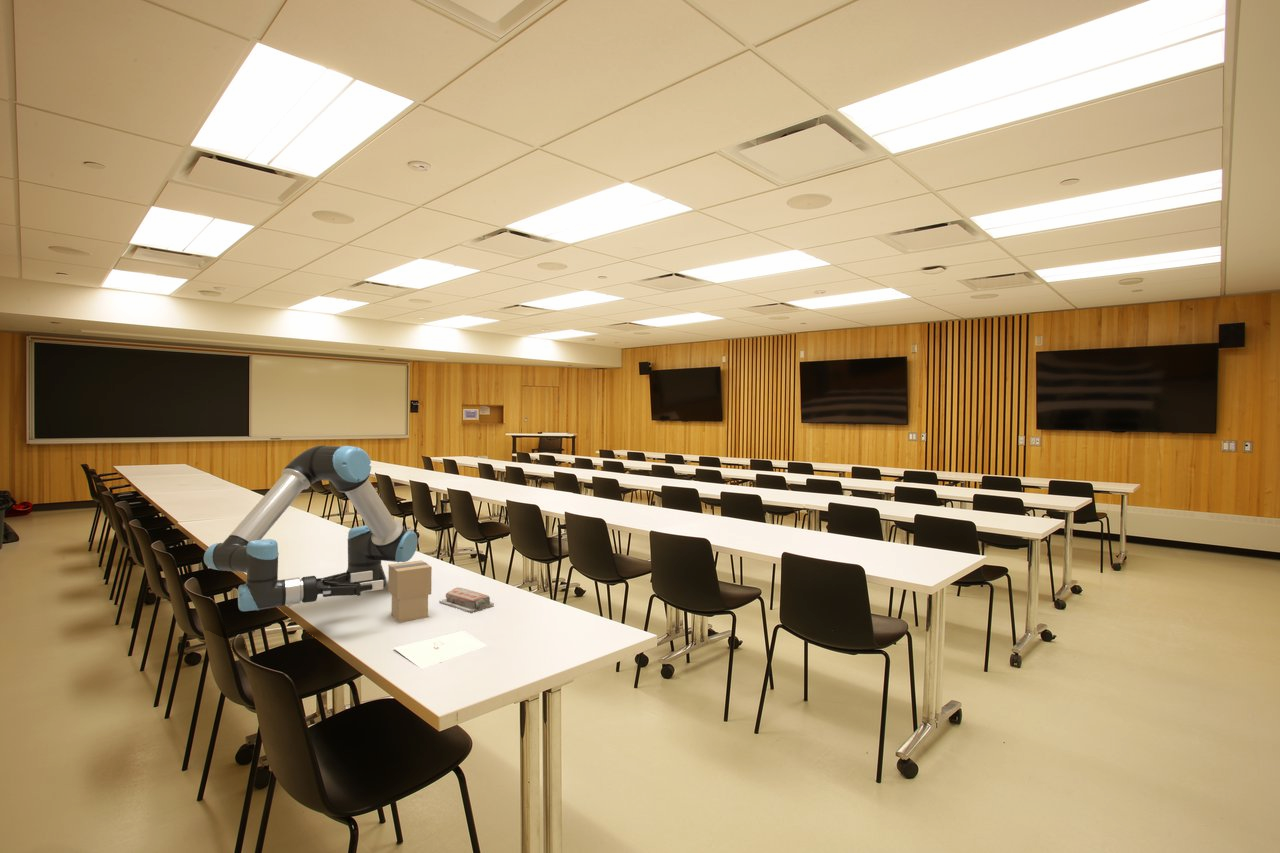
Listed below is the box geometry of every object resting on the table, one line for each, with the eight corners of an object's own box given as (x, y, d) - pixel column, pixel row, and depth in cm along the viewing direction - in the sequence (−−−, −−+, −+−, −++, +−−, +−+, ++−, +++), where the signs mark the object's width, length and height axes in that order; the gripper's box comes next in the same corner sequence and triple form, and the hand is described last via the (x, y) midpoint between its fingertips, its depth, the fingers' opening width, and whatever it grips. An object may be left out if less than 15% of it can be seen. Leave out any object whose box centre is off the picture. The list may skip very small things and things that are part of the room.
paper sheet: (471, 631, 183) (471, 628, 183) (514, 666, 160) (514, 662, 160) (391, 648, 168) (391, 644, 168) (425, 689, 146) (426, 685, 145)
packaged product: (495, 593, 206) (471, 600, 198) (495, 607, 206) (471, 614, 198) (462, 584, 217) (438, 590, 209) (462, 597, 217) (438, 604, 209)
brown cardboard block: (388, 591, 196) (388, 564, 196) (421, 586, 203) (421, 559, 202) (397, 600, 188) (397, 571, 188) (431, 594, 194) (431, 566, 194)
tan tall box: (391, 614, 196) (391, 566, 196) (419, 609, 202) (419, 562, 201) (399, 622, 189) (399, 572, 189) (427, 617, 194) (428, 568, 194)
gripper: (295, 592, 186) (368, 582, 199) (307, 614, 166) (387, 601, 179) (295, 568, 186) (368, 560, 199) (307, 587, 166) (388, 576, 179)
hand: (377, 579), depth 189 cm, fingers open, 13 cm apart
